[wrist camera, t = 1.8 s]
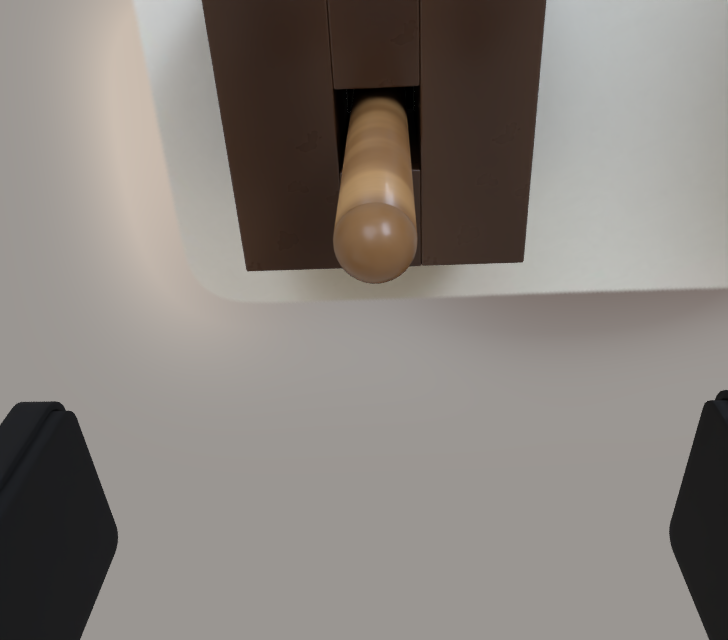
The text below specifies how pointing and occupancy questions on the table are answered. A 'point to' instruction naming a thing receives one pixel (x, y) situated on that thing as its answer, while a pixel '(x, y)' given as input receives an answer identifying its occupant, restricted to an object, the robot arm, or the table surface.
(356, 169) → the stick
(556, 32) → the table surface
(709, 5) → the table surface
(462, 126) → the holder
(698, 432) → the robot arm
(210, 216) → the table surface
